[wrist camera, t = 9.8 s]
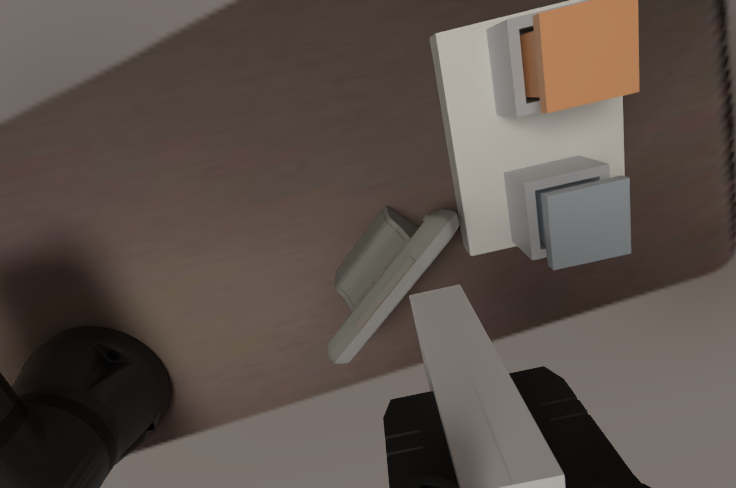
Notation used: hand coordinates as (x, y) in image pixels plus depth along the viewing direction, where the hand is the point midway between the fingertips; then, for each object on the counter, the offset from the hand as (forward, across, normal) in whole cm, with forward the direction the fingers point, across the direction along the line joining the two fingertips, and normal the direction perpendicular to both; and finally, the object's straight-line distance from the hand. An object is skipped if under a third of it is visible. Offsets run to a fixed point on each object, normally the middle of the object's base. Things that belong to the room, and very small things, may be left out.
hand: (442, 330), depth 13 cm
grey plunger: (+27, +14, -6) cm, 31 cm away
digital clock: (+31, -1, -10) cm, 32 cm away
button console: (+30, +14, 0) cm, 33 cm away
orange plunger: (+26, +14, +6) cm, 30 cm away
